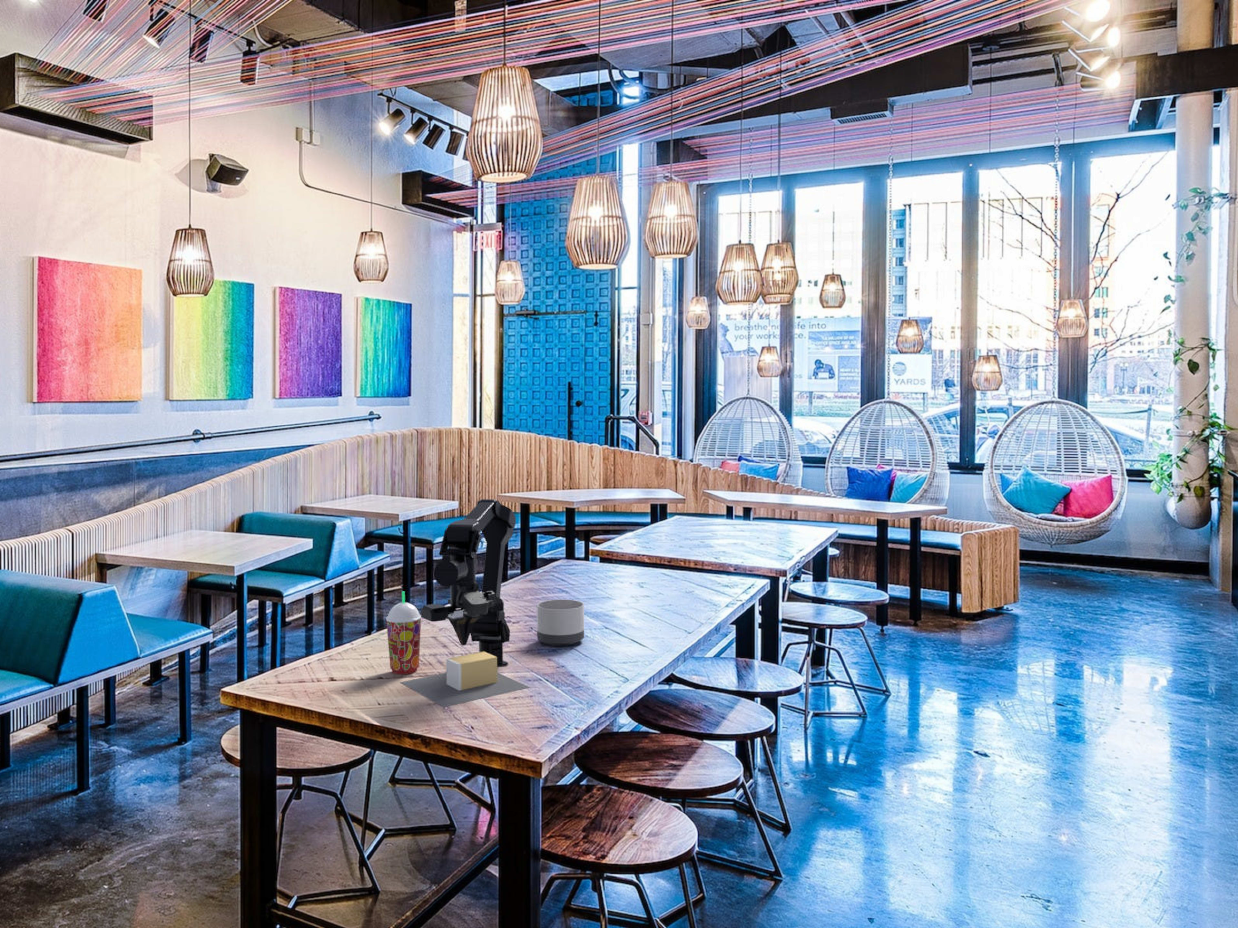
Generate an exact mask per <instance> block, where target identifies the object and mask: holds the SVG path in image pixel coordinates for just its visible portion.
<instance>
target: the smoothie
mask: <svg viewBox="0 0 1238 928" xmlns="http://www.w3.org/2000/svg"><path fill="white" fill-rule="evenodd" d="M405 593H406V591H401V602H399V603H397V604H395V605H393V606H392V607H391V608H390V610H389V612H388V614H387V616H386V617H385V619H386V631H387V633H386V634H387V642H388V657H389V658H388V659H389V669H390V670H391V672H392V673H393V674H396V675H408V674H409V675H410V674H413V673H416V672H417V670H418V668H419V667H420V653H421V652H420V650H421V632H422V631H421V629H422V618H421V613H420V612H419V609H417V607H416V606H415V605H414V604H412V603H411V602H407V601H406V594H405Z"/></svg>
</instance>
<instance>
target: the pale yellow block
mask: <svg viewBox="0 0 1238 928" xmlns="http://www.w3.org/2000/svg"><path fill="white" fill-rule="evenodd" d="M445 662H446V664H445V667H446V672H445V673H446V675H447V685H449V686H451V687H453V688H455V689H457V690H464V689H468V688H473V687H478V686H482V685H487V684H491V683H496V682H497V672H498V666H497V657H496V656H493V655H491V654H489V653H486V652H479V651H478V652H475V653H469V654H464V655H459V656H458V655H457V656H453V657H448V658H446V659H445Z"/></svg>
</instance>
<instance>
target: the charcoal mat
mask: <svg viewBox="0 0 1238 928" xmlns="http://www.w3.org/2000/svg"><path fill="white" fill-rule="evenodd" d="M399 683H400V684H402V686H403V685H404V686H405V687H407V688H409V689H410V690H412V691H414V692H415V693H417V694H419V695H421V696H423V697H424V698H427V699H428V700H430V701H432V702H434V703H435V704H437V705H439V706H441V707H442V708H447V707H450V706H456V705H458V704H459V705H461V704H465V703H470V702H473V701H476V700H482V699H486V698H490V697H494V696H499V695H504V694H508V693H512V692H516V691H521V690H525V689H531V687H530V686H529V685H525V684H524V683H522V682H519V681H517V680H515V679H514V678H513V679H512V678H510V677H509V676H506V675H504V674H501V673H500V672H498V671H497V682H496V683H491V684H487V685H482V686H478V687H473V688H468V689H464V690H457V689H455V688H453V687H451V686H449V685H447V675H446V672H444V673H439V674H434V675H430V676H429V675H428V676H424V677H419V678H415V679H409V680H405V681H400V682H399Z"/></svg>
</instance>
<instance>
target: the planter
mask: <svg viewBox="0 0 1238 928" xmlns="http://www.w3.org/2000/svg"><path fill="white" fill-rule="evenodd" d="M536 636H537V637H536V639H537V640H538V641H539V642H541V643H543V644H546V645H548V646H552V647H565V646H571V645H574V644H576V643H580V641H583V639H584V638H585V603H584V602H582V601H579V600H575V599H549V600H548V599H547V600H544V601H543V600H542V601H540V602H538V603H537V604H536Z"/></svg>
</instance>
